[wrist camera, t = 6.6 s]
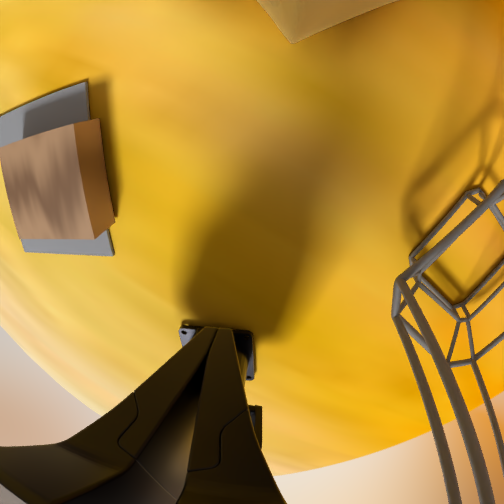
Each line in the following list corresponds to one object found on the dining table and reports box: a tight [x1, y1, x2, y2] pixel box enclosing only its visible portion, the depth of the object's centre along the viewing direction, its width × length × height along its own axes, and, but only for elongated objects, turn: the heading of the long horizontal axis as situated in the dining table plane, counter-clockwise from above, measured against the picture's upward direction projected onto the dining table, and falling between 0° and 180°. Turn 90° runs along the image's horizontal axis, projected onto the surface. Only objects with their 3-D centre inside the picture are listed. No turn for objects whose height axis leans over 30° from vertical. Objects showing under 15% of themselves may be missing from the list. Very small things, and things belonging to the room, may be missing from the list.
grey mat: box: [0, 82, 114, 256], centre depth 20 cm, size 14×12×1 cm
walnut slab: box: [0, 118, 115, 240], centre depth 19 cm, size 8×3×9 cm
